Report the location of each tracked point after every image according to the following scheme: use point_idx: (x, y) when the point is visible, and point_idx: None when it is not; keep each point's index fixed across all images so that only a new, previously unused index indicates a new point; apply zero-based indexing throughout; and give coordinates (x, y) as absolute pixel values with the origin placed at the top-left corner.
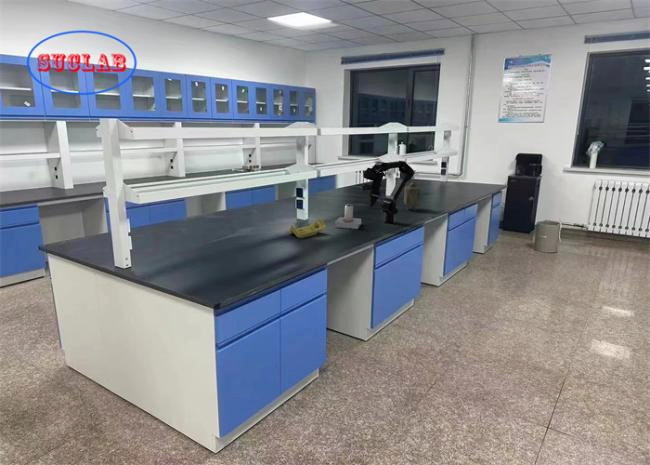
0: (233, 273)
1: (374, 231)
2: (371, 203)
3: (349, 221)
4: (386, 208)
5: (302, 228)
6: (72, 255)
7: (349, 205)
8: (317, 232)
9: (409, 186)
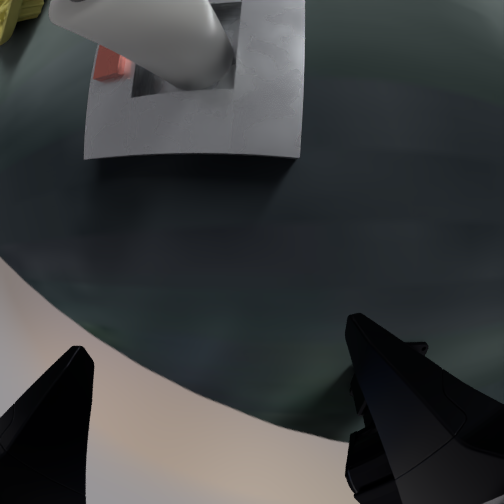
0: None
1: (98, 276)
2: (44, 388)
3: (110, 76)
4: (375, 443)
5: None
6: None
7: None
8: (33, 16)
9: None
